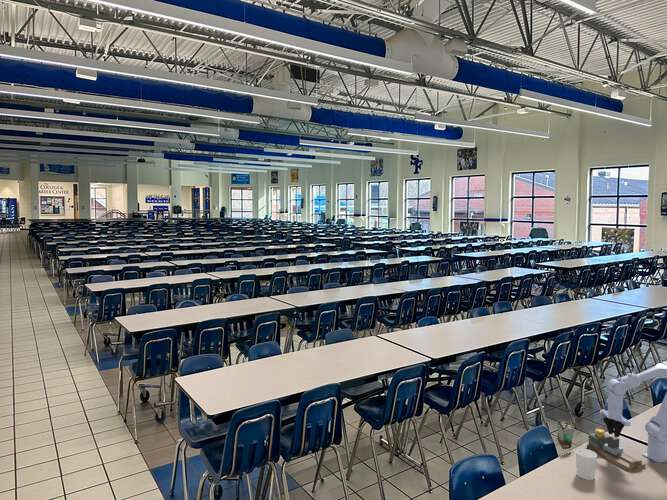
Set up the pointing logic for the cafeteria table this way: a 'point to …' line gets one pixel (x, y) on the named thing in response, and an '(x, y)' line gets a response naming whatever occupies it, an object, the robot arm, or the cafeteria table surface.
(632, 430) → the cafeteria table surface
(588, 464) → the white cup
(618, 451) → the carriage
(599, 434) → the button
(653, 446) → the robot arm
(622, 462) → the rail board
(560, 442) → the food container
